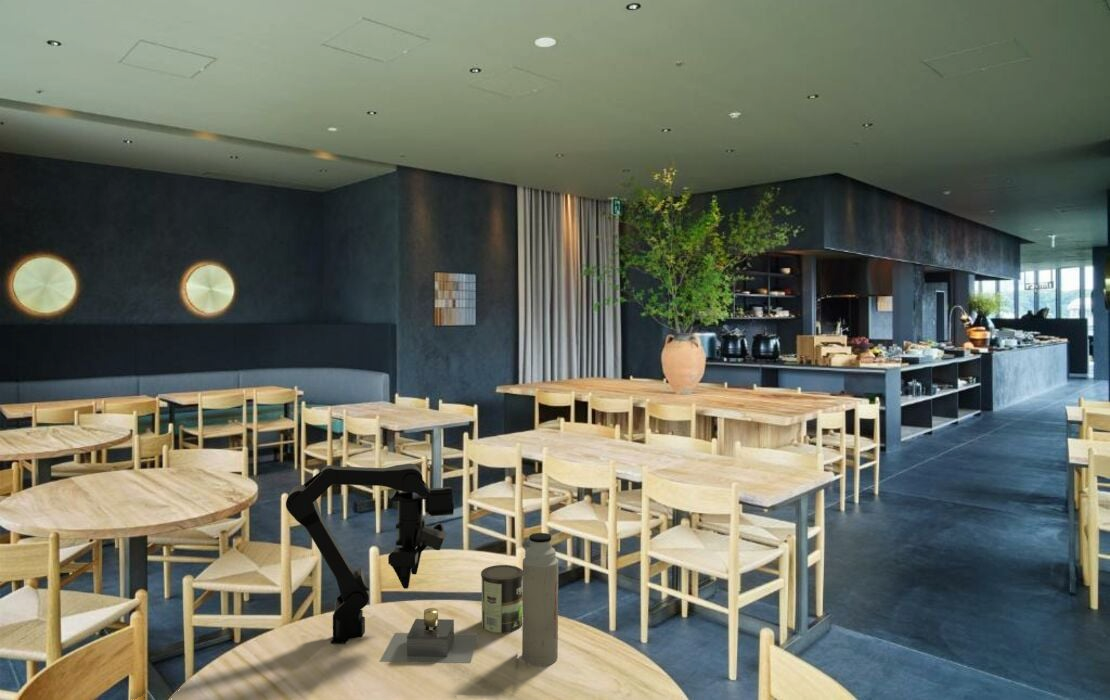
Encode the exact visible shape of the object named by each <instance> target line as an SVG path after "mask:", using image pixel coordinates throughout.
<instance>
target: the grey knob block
mask: <svg viewBox="0 0 1110 700" xmlns="http://www.w3.org/2000/svg"><path fill="white" fill-rule="evenodd" d="M410 627H411V628H410V629H409V632H407V633H408V635H407V656H414V657H448V654H449V651H450V648H451V645H452V643H453V640H454V634H455V619H446V618H445V619H443V618H441V619H440V618H438V625H436V626H433V630H429V627H427V626H425V625H424V618H415V619H414V621H413V622H412V625H411V626H410Z"/></svg>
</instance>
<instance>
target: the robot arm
mask: <svg viewBox="0 0 1110 700" xmlns="http://www.w3.org/2000/svg"><path fill="white" fill-rule="evenodd" d="M333 485H339V486H340V485H341V486H371V487H373V486H375V487H377V486H378V487H386V488H388V489H392V490H394V492H393V493H391V494H390V495H389V498H390V500H389V501H390V502H397V523H396V524H395V529H397V540H396V541H395V546H396V547H395V548H393V549H392V551H390V553H389V554H388V558H387V559H388V562H387V563H388V565H390V567H391V568H393V571H394V573H395V574H396V576H397V578H398V581H399V583H400V584H401V586H402V589H404V590H407V589H409V587H410V581H411V577H412V575H417V573H418V571H419V570H418V569H419V567H420V566H419V565H420V560H421V557H422V556H421V555H422V553H423V551H425V549H426V548H428V547H429V548H432V549H433V550H436V551H440V550H441V548H442V547H443V544H444V542H445V540H446V537H447V532H446V531H444V524H442V523H439V522H437V523H436V524H435V525H434V526H431V525H430V526H428V525H426V520H425V519H424V518H423V505H424V513H426V514H428V515H429V517H442V516H443V517H445V516H446V517H447V516H453V515H454V509H455V508H454V507H455V506H454V505H455V504H454V503H455V502H454V501H453V500H454V499H453V497H454V496H453V489H452V487H451V486H444V487H433V488H429V485H428V483H426V482H425V480H424V478H423V475H422V472H421V469H420V468H419V467H418V466H417V465H416V464H413V463H405V464H404V463H403V464H397V465H393V466H388V467H363V466H362V467H360V466H339V465H338V466H336V465H332V464H328V465H326V466H323V468H322V469H321V470H320V471H319V472H318V473H316V474H315V475H313V476H312V477H311V478H309V480H306V482H305V483H304V484H299V485H296V486H294V487H293V488H292V489H291V490H290V491H289V493H288V496H287V499H286V501H285V507H286V510H287V512H288V513H289V515H291V516H292V518H294V520H295V521H296V522H298V524H300V525H301V526H302V527H303V528H305V529H306V531H307V532H308V534H309V535H310V538H311V539H312V541H313V542H314V544H315V546H316V547H317V549H318V551H319V552H320V554H321V556H322V557H323V559H324V561H325V563H326V564H327V566H328V568H329V569H330V570H331V572H332V574H333V576H334V578H335V580H336V583H337V586H338V590H339V594H338V596H337V597H336V598H335V603H334V612H333V614H332V638H330V639H331V640H330V642H329V643H330V644H340V645H346V644H347V643H348V641H350V640H352V639H355V638H357V639H359V638H363V636H364V634H365V633H366V618H365V616H363V613H364V612H363V609H364V608H365V607H366V606H367V604H368V602H369V598H370V593H369V592H370V579H369V578H367V576H366V575H365V574H364V570H363V568H362V567H358V569H355V567H353V566H351V564H350V562H349V561H348V559H347V558H346V556H345V555H344V552H343V551H342V549H341V548H340V546H339V544H338V542H337V541H336V539H335V538H334V535H333V534H332V532H331V531H330V529H329V527H328V526H327V523H326V522H325V521H324V519H323V517H322V514H321V510H320V506H319V503H318V500H317V499H319V498H320V497H321V496H322V495H323V494H324V493H325V492H326V491H327V490H328V489H329V488H330V487H331V486H333ZM414 493H415V494H414ZM423 501H424V504H423ZM398 546H399V547H398ZM400 546H401V547H400Z"/></svg>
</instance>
